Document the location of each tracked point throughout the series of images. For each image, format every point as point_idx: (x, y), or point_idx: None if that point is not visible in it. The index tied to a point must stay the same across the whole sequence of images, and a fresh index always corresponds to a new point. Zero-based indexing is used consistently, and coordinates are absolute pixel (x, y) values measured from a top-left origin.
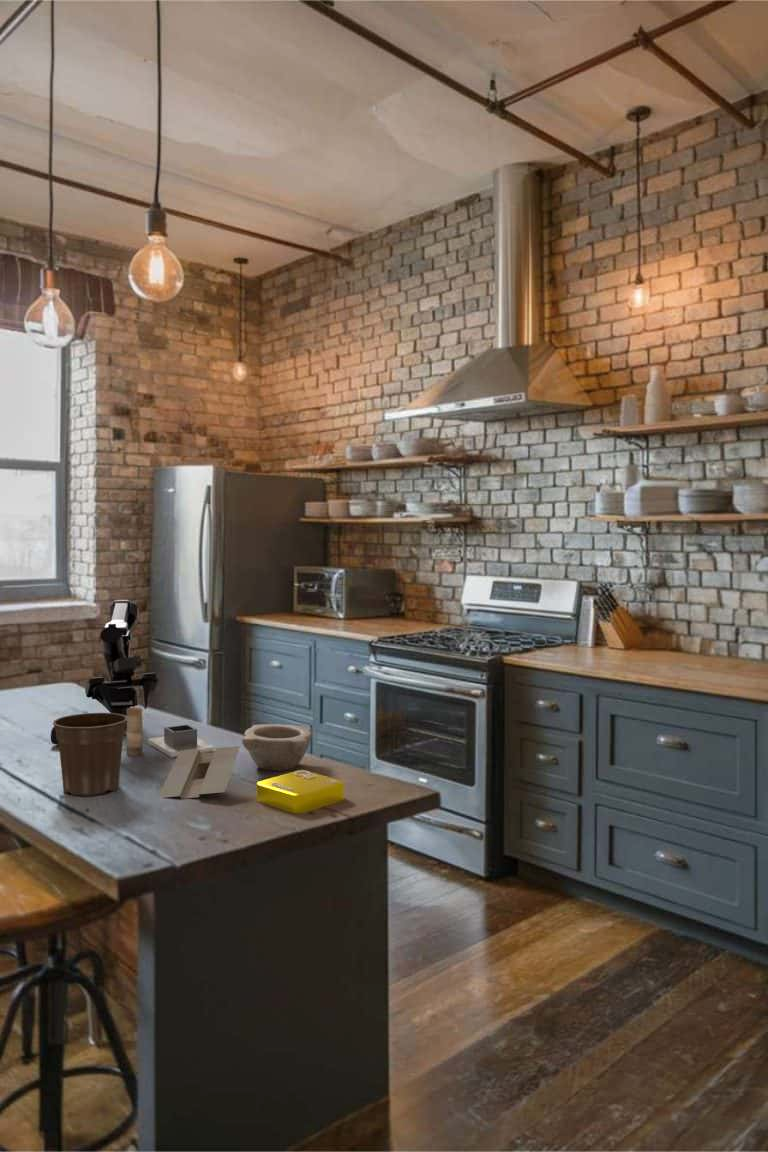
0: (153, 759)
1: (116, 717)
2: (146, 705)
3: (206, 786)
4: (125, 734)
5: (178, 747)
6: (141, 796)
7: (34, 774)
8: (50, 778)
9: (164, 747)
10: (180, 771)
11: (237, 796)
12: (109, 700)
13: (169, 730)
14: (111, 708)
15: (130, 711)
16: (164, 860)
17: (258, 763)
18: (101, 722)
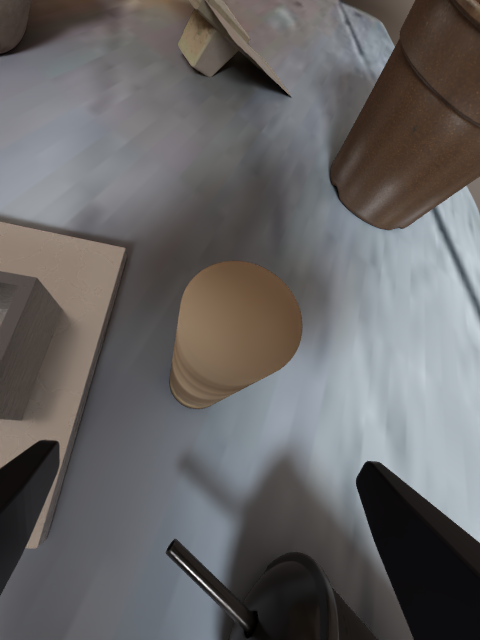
0: (183, 276)
1: (455, 8)
2: (35, 448)
3: (236, 22)
4: (178, 543)
5: (50, 290)
6: (311, 114)
7: (465, 347)
8: (434, 296)
9: (94, 324)
10: (253, 54)
11: (188, 20)
12: (470, 561)
13: (16, 326)
14: (389, 473)
15: (284, 292)
16: (344, 9)
17: (27, 20)
18: (476, 78)
